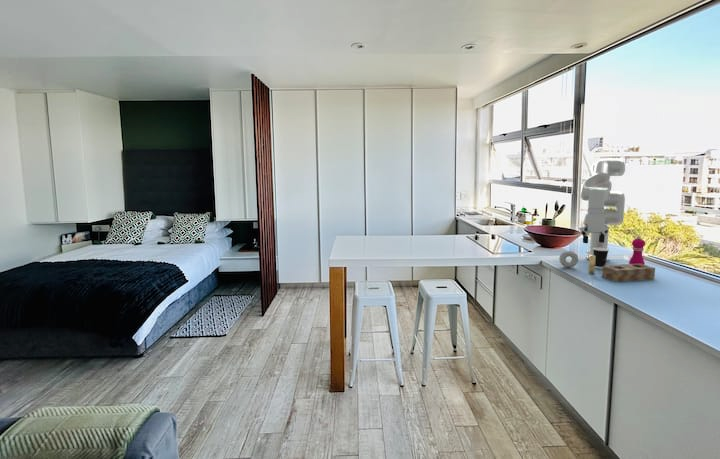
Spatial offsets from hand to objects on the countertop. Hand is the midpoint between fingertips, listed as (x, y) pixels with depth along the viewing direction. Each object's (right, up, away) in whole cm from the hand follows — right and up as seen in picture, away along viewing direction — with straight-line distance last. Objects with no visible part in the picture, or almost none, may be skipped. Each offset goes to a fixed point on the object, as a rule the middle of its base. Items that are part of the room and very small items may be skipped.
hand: (593, 242), depth 226 cm
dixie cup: (+12, -15, +15) cm, 24 cm away
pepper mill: (+27, -16, +5) cm, 32 cm away
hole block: (+14, -18, -7) cm, 24 cm away
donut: (-6, -15, +16) cm, 23 cm away
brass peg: (+1, -17, +3) cm, 17 cm away
